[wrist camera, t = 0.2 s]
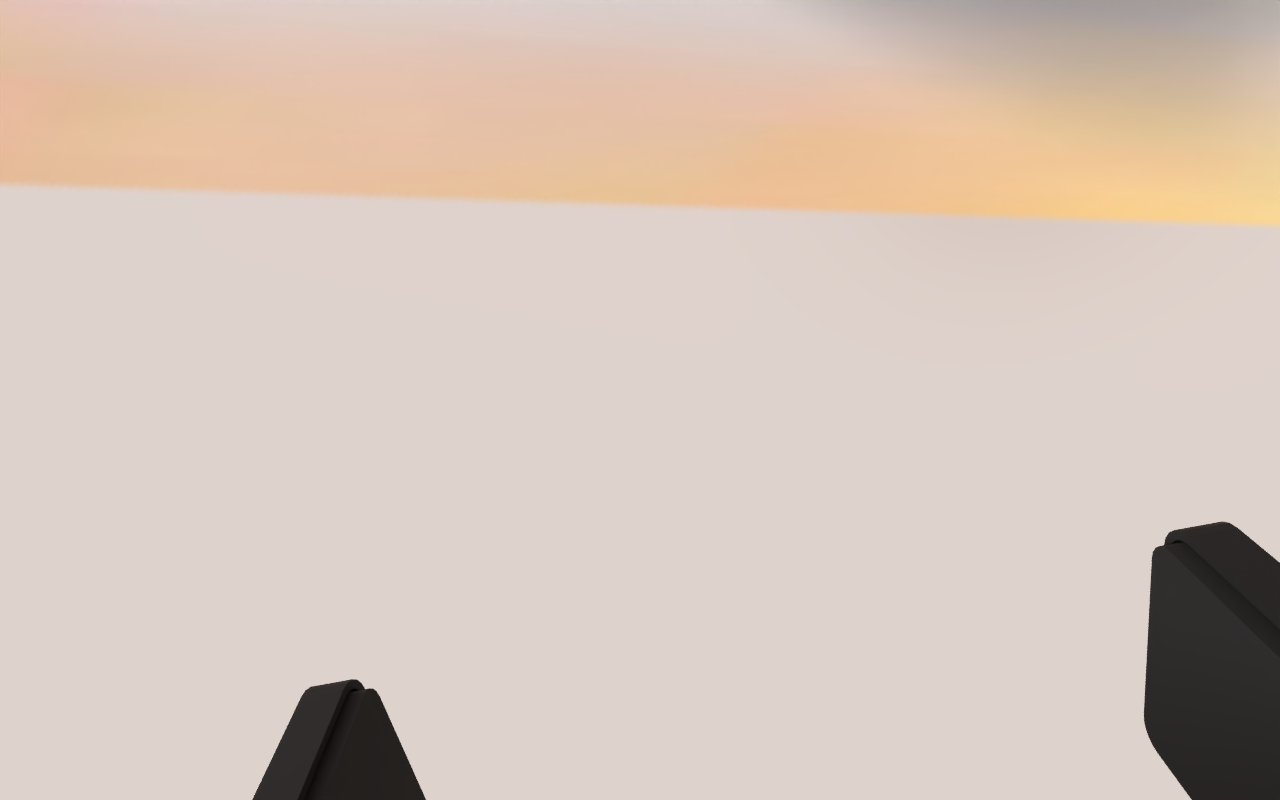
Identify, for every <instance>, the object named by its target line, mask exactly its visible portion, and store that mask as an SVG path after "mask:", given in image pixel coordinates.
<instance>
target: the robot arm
mask: <svg viewBox="0 0 1280 800" xmlns="http://www.w3.org/2000/svg"><path fill="white" fill-rule="evenodd" d="M1150 590H1151V591H1150V608H1149V627H1148V628H1149V629H1148V646H1147V666H1146V685H1145V704H1144V705H1145V706H1144V721H1145V727H1146V730H1147V733H1148V736H1149V738H1150V740H1151V742H1152V745H1153V746H1154V748H1155V749H1156V751H1157V753H1158V754H1159V755H1160V757H1161V758H1162V759H1163V761H1164V762H1165V764H1166V765H1167V766H1168V768H1169V769H1170V770H1171V772H1172V773H1173V775H1174V776H1175V777H1176V778H1177V780H1178V781H1179V783H1180V784H1181V785H1182V787H1183V788H1184V790H1185V791H1186V792H1187V794H1188V795H1189V796H1190V798H1191V799H1192V800H1280V563H1279V562H1278V561H1277V560H1276V559H1274V558H1273V557H1272V556H1271V555H1270V554H1268V553H1267V552H1266V551H1264V549H1262V548H1261V547H1260V546H1259V545H1257V544H1256V543H1255V542H1254V541H1253V540H1251V539H1250V538H1249V537H1248V536H1247V535H1245V534H1244V533H1243V532H1242V531H1241V530H1239V529H1238V528H1237V527H1235V526H1233V525H1232V524H1230V523H1227V522H1217V523H1212V524H1206V525H1201V526H1195V527H1190V528H1184V529H1179V530H1174V531H1172V532H1170V533H1169V534H1168V535H1167V537H1166V539H1165V544H1164V545H1163V546H1159V547H1157V548H1155V550H1154V551H1153V556H1152V569H1151V588H1150ZM253 800H426V799H425V797H424V794H423V792H422V790H421V788H420V785H419V783H418V781H417V779H416V777H415V774H414V772H413V770H412V768H411V765H410V763H409V761H408V759H407V756H406V754H405V752H404V750H403V747H402V745H401V743H400V741H399V739H398V736H397V734H396V732H395V730H394V727H393V725H392V723H391V721H390V718H389V716H388V714H387V712H386V710H385V707H384V705H383V703H382V701H381V698H380V696H379V695H378V693H377V691H375V690H374V689H364V687H363V685H362V683H360V682H359V681H358V680H346V681H341V682H336V683H330V684H325V685H319V686H313V687H310V688H309V689H307V690H306V691H305V692H304V694H303V695H302V697H301V699H300V701H299V703H298V705H297V707H296V709H295V711H294V714H293V716H292V718H291V720H290V722H289V724H288V726H287V729H286V730H285V732H284V735H283V737H282V739H281V741H280V743H279V745H278V747H277V749H276V751H275V753H274V756H273V758H272V760H271V762H270V764H269V766H268V768H267V770H266V772H265V775H264V776H263V779H262V781H261V783H260V785H259V787H258V789H257V791H256V793H255V795H254V798H253Z"/></svg>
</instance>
